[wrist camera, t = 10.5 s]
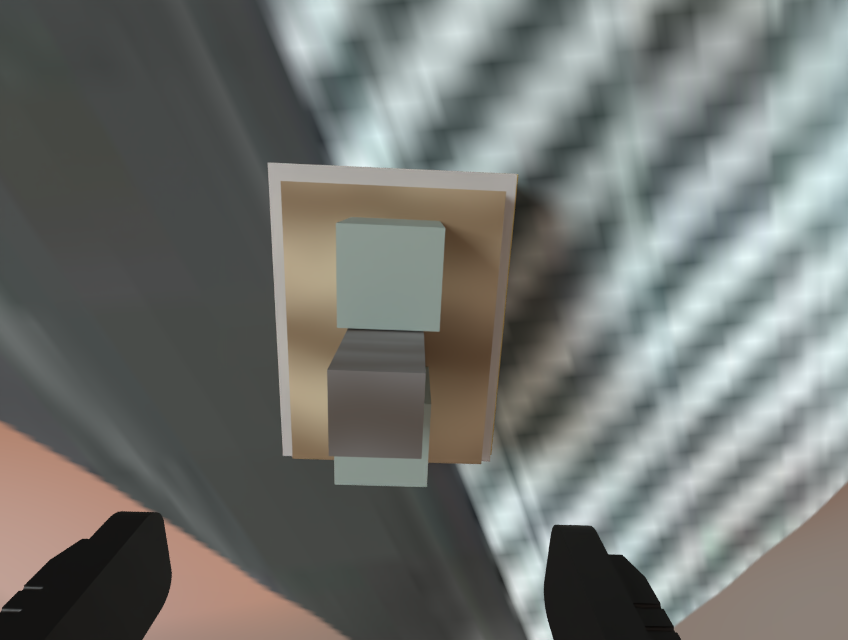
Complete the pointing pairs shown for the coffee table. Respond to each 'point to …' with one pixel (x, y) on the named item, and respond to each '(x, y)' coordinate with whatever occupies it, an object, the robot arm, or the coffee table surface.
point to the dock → (388, 178)
